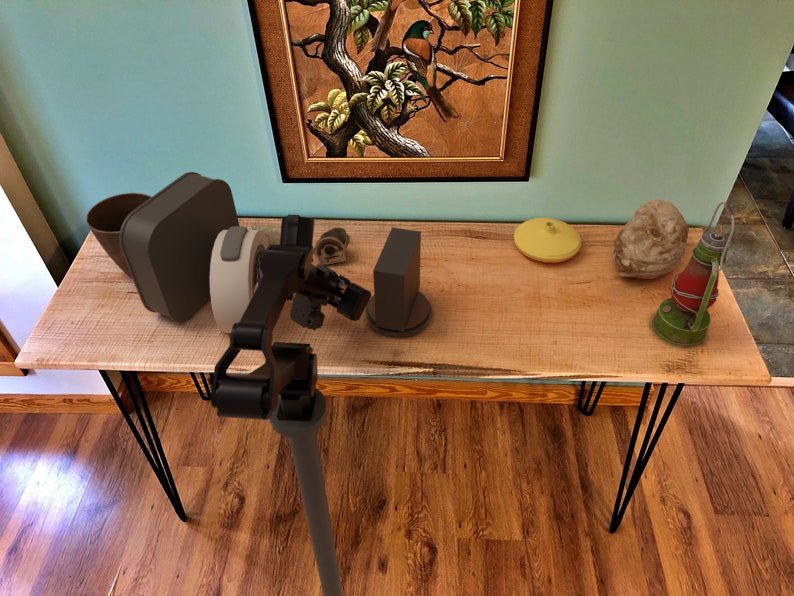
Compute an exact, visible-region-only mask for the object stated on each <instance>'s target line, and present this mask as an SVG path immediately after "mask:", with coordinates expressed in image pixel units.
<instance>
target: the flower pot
mask: <svg viewBox="0 0 794 596" xmlns="http://www.w3.org/2000/svg"><path fill="white" fill-rule="evenodd" d="M151 197H152V196H151V195H149V194H146V193H142V192H141V193H140V192H124V193H119V194H115V195H112V196H108V197H106V198H104V199H102V200H100V201H98V202H97V203H96V204H94V205H93V206H92V207H91V208H90V209H89V210H88V211H87V213H86V216H85V223H86V225H87V226H88V228H89V229H90V231H91V232H92V234H93V236H94V238H95V239H96V241H97V242H98V243H99V244H100V246H101V248H102V249H103V250H104V252H105V253H106V254H107V256H108V257H110V259H111V260H112V261H113V262H114V263H115V264H116V266H118V268H119V269H120V270H121V271H122V272H123V273H125V275H127V276H128V277H129V278H131V279H132V276H131V273H130V271H129V268H128V266H127V263H126V261H125V258H124V256H123V253H122V250H121V247H120V243H119V234H120V230H121V226H122V224H123V222H124V220H125V219H126V217H127V216H128V215H129V214H130V213H131V212H132V211H133V210H135V209H136V208H137V207H139V206H140V205H141V204H143V203H144V202H146V201H147V200H148V199H150V198H151Z"/></svg>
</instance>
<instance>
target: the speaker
mask: <svg viewBox="0 0 794 596" xmlns="http://www.w3.org/2000/svg"><path fill="white" fill-rule="evenodd" d="M234 226H240V222H239V218H238V214H237V209H236V205H235V200H234V196H233V191H232V189H231V187H230V185H229V184H228V182H227V181H225V180H224V179H219V178H210V177H208V176H205V175H202V174H200V173H198V172H195V171H189V172H188V171H187V172H185V173H183V174H181V175H180V176H179V177H177V178H176V179H174V180H173V181H172V182H170V183H169V184H168V185H166V186H165V187H163V188H162V189H161V190H160V191H158V192H157V193H155V194H153V196H151V198H150V199H148V200H147V201H146V202H144V203H143V204H141V205H140V206H139V207H137V208H136V209H135V210H133V211H132V212H131V213H130V214H129V215H128V216H127V217H126V219H125V220H124V222H123V224H122V226H121V230H120V234H119V243H120V247H121V250H122V253H123V256H124V258H125V261H126V263H127V266H128V268H129V271H130V273H131V276H132V278H131V279H132V281H133V284H134V287H135V288H136V291H137V294H138V296H139V298H140V300H141V303H142V306H143V307H144V308H145V309H146V310H147V311H149V312H151V313H158V314H159V315H162V316H166V317H168V318H170V319H171V320H172V321H174V322H177V323H183V322H186V321H188V320H190V319H192V317H193V316H195V315H196V314H197V313H198V312H199V311H200V310H201V309H202V308H203V307H204V306H205V305H206V304H208V302H210V301H211V296H210V263H211V257H212V251H213V247H214V243H215V240H216V238H217V236H218V234H219V233H220V232H221V231H223V230H228V229H229V228H230V227H234Z"/></svg>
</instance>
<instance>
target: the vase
mask: <svg viewBox="0 0 794 596" xmlns="http://www.w3.org/2000/svg"><path fill="white" fill-rule="evenodd" d="M513 241H514V245H515V247H516V248H517V250H519V251H520V253H521V254H523V255H524V256H527V257H528V258H530V259H532V260H535V261H538V262H543V263H559V262H560V263H561V262H565V261H567V260H570V259H571V258H573V257H575V255H577V253H578V252H579V250H581V248H582V247H581V246H582V239H581V236H580V234H579V233H578V231H577V230H576V229H575V228H574V227H573V226H572V225H570V224H569V223H567V222H564V221H562V220H559V219H556V218H551V217H536V218H531V219H528V220H525V221H524V222H522V223H521V224H519V225H518V226H517V227H516V228H515V229H514V232H513Z"/></svg>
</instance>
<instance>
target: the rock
mask: <svg viewBox="0 0 794 596" xmlns="http://www.w3.org/2000/svg"><path fill="white" fill-rule="evenodd" d="M689 232H690V228H689V224H688V223H687V222H686V220H685V218H684V216H683V214H682V213H681V212H680V211H679V209H678V207H677V206H675V205H674V203H672V202H670V201H665V200H661V199H653V200H649V201H647V202H646V203H644V204H642V205H640V207H638V208H637V209H636V210H635V212H634V214H633V215H632V216H631V218H630V219H629V220H628V222H627V223H626V224H625V225H624V226H623V227H622V228H621V229H620V231H619V232H618V233H617V234H616V237H615V240H614V243H613V245H612V247H613V248H612V255H613V261H614V266H615V271H616V272H617V273H618V274H619V276H620V277H624V278H631V277H633V278H635V279H639V280H641V279H646V280H651V279H653V280H654V279H656V278H659V277H661V276H664V275H666V274H669V273H671V272H672V271H673V270H675V269H676V268H677V267H678V265H679V264H681V261H682V259H683V257H684V256H685V252H686V246H687V242H688V238H689Z"/></svg>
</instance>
